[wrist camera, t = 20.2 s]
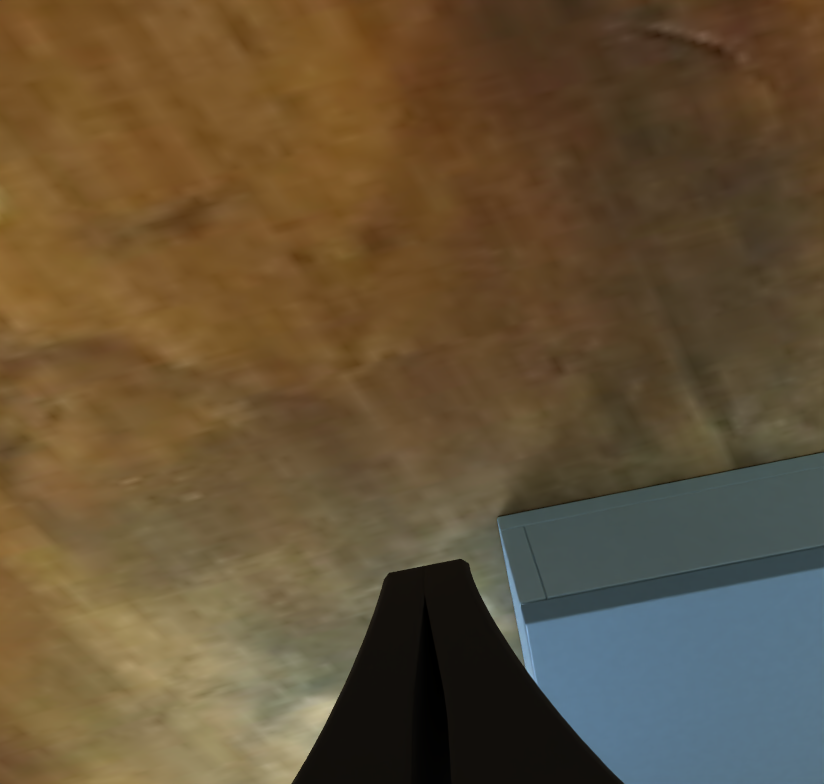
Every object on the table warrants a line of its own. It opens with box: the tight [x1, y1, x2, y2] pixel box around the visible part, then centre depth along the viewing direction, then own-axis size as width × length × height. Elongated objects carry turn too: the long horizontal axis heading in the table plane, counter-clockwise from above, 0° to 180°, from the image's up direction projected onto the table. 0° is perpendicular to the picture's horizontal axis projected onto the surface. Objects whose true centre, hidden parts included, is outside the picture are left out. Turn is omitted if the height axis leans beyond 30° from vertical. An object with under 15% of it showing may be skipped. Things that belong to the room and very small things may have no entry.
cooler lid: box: [520, 547, 824, 784], centre depth 20 cm, size 11×13×1 cm
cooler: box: [497, 452, 824, 680], centre depth 23 cm, size 11×13×4 cm
